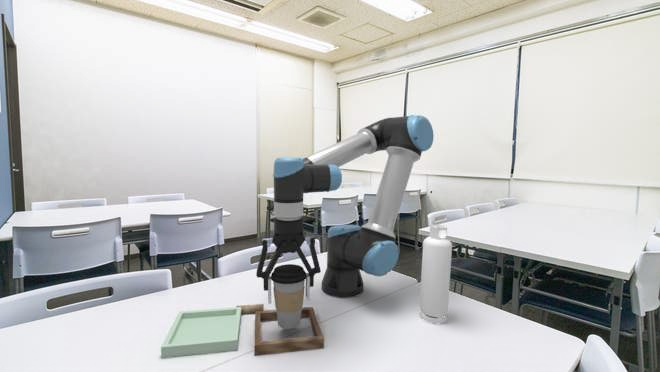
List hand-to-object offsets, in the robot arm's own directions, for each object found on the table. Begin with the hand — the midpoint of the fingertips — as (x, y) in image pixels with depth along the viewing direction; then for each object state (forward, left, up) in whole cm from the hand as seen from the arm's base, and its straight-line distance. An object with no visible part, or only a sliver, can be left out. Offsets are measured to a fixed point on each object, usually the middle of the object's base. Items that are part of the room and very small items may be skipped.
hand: (288, 299), depth 85 cm
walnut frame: (0, 0, -9) cm, 9 cm away
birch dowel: (+10, -14, -8) cm, 19 cm away
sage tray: (+21, -3, -9) cm, 24 cm away
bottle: (-44, -1, -9) cm, 45 cm away
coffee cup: (0, 0, -7) cm, 7 cm away
